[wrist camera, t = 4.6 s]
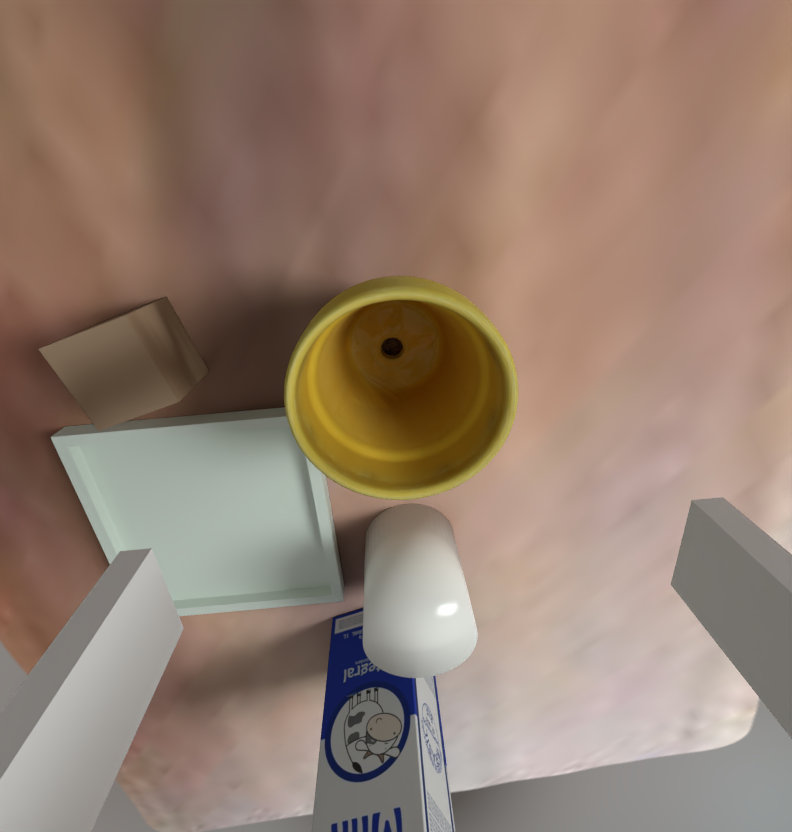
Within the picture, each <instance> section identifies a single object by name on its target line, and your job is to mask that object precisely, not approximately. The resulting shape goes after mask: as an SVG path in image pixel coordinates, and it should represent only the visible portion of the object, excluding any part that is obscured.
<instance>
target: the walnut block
mask: <svg viewBox="0 0 792 832" xmlns="http://www.w3.org/2000/svg"><path fill="white" fill-rule="evenodd" d="M39 351H40V352H41V353H42V355H43V356H44V358H45V359H46V360H47V362H48V363H49V364H50V366H51V367H52V368H53V370H54V371H55V373H56V374H57V375H58V377H59V378H60V379H61V381H62V382H63V383H64V385H65V386H66V388H67V389H68V390H69V392H70V393H71V394H72V396H73V397H74V398H75V400H76V401H77V402H78V404H79V405H80V407H81V408H82V409H83V411H84V412H85V413H86V415H87V416H88V417H89V419H90V420H91V422H92V423H93V424H94V426H95V427H96V428H97V430H98V431H100V430H103V429H106V428H109V427H111V426H114V425H117V424H120V423H122V422H125V421H128V420H131V419H134V418H136V417H139V416H142V415H145V414H147V413H150V412H153V411H156V410H159V409H161V408H164V407H167V406H170V405H172V404H175V403H178V402H180V401H181V400H182V399H183V398H184V397H185V396H186V395H187V394H188V393H189V391H190V390H191V389H192V388H193V387H194V386H195V385H196V384H197V383H198V382H199V381H200V380H201V379H202V378H203V377H204V376H205V375H206V374H207V373H208V372H209V370H208V368H207V366H206V365H205V363H204V361H203V359H202V358H201V356H200V354H199V352H198V351H197V349H196V347H195V345H194V344H193V342H192V340H191V338H190V337H189V335H188V333H187V331H186V330H185V328H184V326H183V324H182V323H181V321H180V319H179V317H178V316H177V314H176V312H175V310H174V309H173V307H172V305H171V303H170V302H169V300H168V298H167V297H164V298H162V299H159V300H157V301H154V302H152V303H149V304H146V305H144V306H141V307H139V308H136V309H134V310H131V311H128V312H126V313H123V314H121V315H118V316H116V317H113V318H111V319H108V320H105V321H103V322H100V323H98V324H95V325H93V326H90V327H88V328H86V329H83V330H81V331H79V332H76V333H74V334H72V335H70V336H67V337H65V338H63V339H60V340H58V341H56V342H53V343H51V344H49V345H47V346H44V347H42V348H40V349H39Z"/></svg>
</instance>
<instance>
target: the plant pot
mask: <svg viewBox="0 0 792 832" xmlns="http://www.w3.org/2000/svg"><path fill="white" fill-rule="evenodd" d="M389 338H396V339H399V340H400V341H401V342H402V346H403V348H402V351H401V352H400V353H399V354H398V355H395V356H391V355H387V354H386V353H385V352H384V351H383V349H382V345H383V343H384V341H385V340H387V339H389ZM517 403H518V381H517V374H516V369H515V365H514V361H513V358H512V356H511V353H510V351H509V349H508V347H507V344H506V343H505V341H504V339H503V337H502V336H501V334H500V333H499V332H498V330H497V329H496V327H495V326H494V325H493V324H492V322H491V321H490V320H489V319H488V318H487V317H486V316H485V315H484V314H483V313H482V311H480V310H479V309H478V308H477V307H476V306H475V305H474V304H473V303H472V302H470V301H469V300H468V299H467V298H465V297H464V296H463V295H461V294H459V293H458V292H456V291H455V290H453V289H451V288H449V287H447V286H445V285H443V284H440V283H437V282H434V281H431V280H427V279H423V278H418V277H411V276H389V277H382V278H377V279H372V280H369V281H366V282H363V283H360V284H357V285H355V286H353V287H351V288H349V289H347V290H345V291H343V292H342V293H340V294H338V295H337V296H335V297H334V298H333V299H332V300H330V301H329V302H328V303H327V304H326V305H325V306H324V307H323V308H322V309H321V310H320V311H319V312H318V313H317V314H316V315H315V317H314V318H313V319H312V320H311V322H310V323H309V324H308V326H307V327H306V329H305V331H304V332H303V334H302V335H301V337H300V339H299V341H298V342H297V344H296V347H295V349H294V351H293V353H292V355H291V358H290V361H289V364H288V368H287V372H286V377H285V382H284V405H285V411H286V416H287V420H288V423H289V426H290V429H291V432H292V434H293V437H294V439H295V441H296V442H297V444H298V446H299V448H300V449H301V451H302V452H303V453H304V455H305V456H306V457H307V458H308V460H309V461H310V462H311V463H312V464H313V465H314V466H315V467H316V468H317V469H318V470H319V471H321V472H322V473H323V474H324V475H326V476H327V477H328V478H330V479H331V480H333V481H334V482H336V483H338V484H340V485H341V486H343V487H345V488H347V489H350V490H352V491H354V492H357V493H360V494H363V495H367V496H371V497H376V498H381V499H391V500H409V499H418V498H424V497H428V496H432V495H435V494H439V493H442V492H444V491H447V490H450V489H452V488H454V487H456V486H458V485H460V484H461V483H463V482H465V481H466V480H468V479H470V478H471V477H473V476H474V475H475V474H477V473H478V472H479V471H480V470H481V469H483V468H484V467H485V466H486V465H487V464H488V463H489V462H490V461H491V460H492V458H493V457H494V456H495V455H496V454H497V452H498V451H499V450H500V448H501V447H502V445H503V444H504V442H505V440H506V438H507V436H508V434H509V432H510V430H511V427H512V425H513V421H514V418H515V414H516V409H517Z"/></svg>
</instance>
